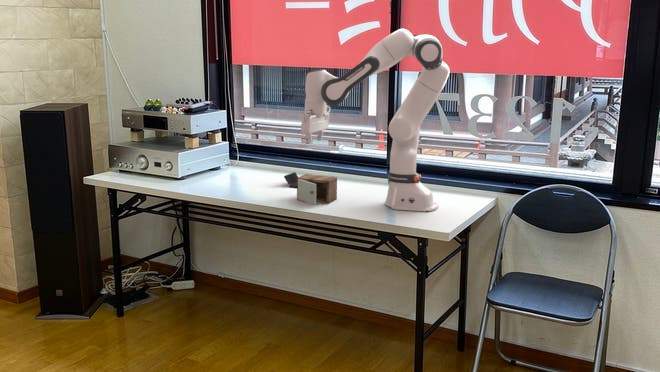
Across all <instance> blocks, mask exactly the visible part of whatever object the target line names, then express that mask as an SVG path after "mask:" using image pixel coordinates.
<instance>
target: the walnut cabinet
mask: <svg viewBox="0 0 660 372" xmlns="http://www.w3.org/2000/svg"><path fill="white" fill-rule="evenodd" d="M298 179H301V180H304V181H308V182H311V183H314V184H316V204H317V203H318V204H325V205H329V204H331V203H333V202H335V201H337V200H338V197H337V196H338V177H337V176H328V175H319V174H309V173H305V174H303V175H300V176H298V178H297V188H296V200H297V201H300V202H303V201H302V200H299V199H298Z"/></svg>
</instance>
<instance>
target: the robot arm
mask: <svg viewBox="0 0 660 372" xmlns="http://www.w3.org/2000/svg"><path fill="white" fill-rule="evenodd" d="M442 46H443V45H442V43H441V42H440V41H439V40H438V38H437V37H435V36H433V35H431V34H428V33H420V34H412V32H410V31H409V30H408V29H405V28H399V29H397V30H395V31H393V32H391V33H389V34H388V35H386V36H385V37H383V38H382V39H381V40H380V41H378V42H377V43H376V44H374V46H373V47H371V49H370V50H369V51H368V52H367V53H366V55H365V56H364V57H363V58H362V60H361V61H359V62H358V63H357V65H355V66H354V67H353V68H351V69H349V70H348V71H347V72H346V73H344V74H343V75H342V76H340V77H338V76H334V75H333V74H331V73H330V72H328V71H327V70H326V69H324V68H322V69H321V68H320V69H314V70H313V69H312V70H310V71H309V72H308V73H307V74H306V78H305V85H304V86H305V90H304V91H305V100H304V113H303V116H302V118H301V124H300V131H301V133H302V134H303V135H304V134H305V137H306V142H307V144H309V145H311V144H313V141H314V139H313V138H312V137H313V133H317V135H316V141H317V142H321V141H323V140H322V139H323V135H324V131H325V130H327V129H329V128H328V127H329V125H330V112H331V107H330V106H338V105H340V104H342V103H343V102H344V100H346V99H347V98H348V97H349V94H350V91H352V90H353V88H354V87H356V86H357V85H359V84H361V83H362V82H363V81H364V80H366V79H367V78H369V77H371V76H373V75H377V74H379V73H382V72H384V71H386V70H388V69H390V68H392V67H393V66H395V65H397V64H398V63H399V62H400V61H401V60H403V59H405V58H406V57H409V56H411V57H414V58H415V59H416V60H417V61H418V62H419V64H421V65H422V68H421V72H420V74H419V75H418V77H417V78H416V80H415V82H414V83H413V85H412V87H411V88H410V91H409V92H408V94H407V96H406V98H404V100H403V102H402V103H401V105H400V106H399V107H398V109H397V111H396V112H395V114H394V115H393V117H392V119H391V120H390V122H389V125H388V134H389V136H390V137H391V138H392V143H391V149H390V154H389V155H390V157H389V171H388V175H387V176H388V177H387V184H388V189H387V194H386V198H385V202H384V205H385V206H387V207H389V208H391V209H393V210H398V211H399V210H400V211H401V210H402V211H413V212H414V211H415V212H416V211H417V212H426V211H429V212H433V211H435V210H437V209H438V207H439V203H438V202H435V201H434V196H433V193H432V190H430V189H429V188H428V187H427V186H426V185H425V184H423V183H422V182H421V177H422V175H421V173H420V174H419V173H418V172H417V161H418V160H417V159H418V158H417V157H418V156H417V155H418V148H419V139H420V130H421V125H422V123H423V122H424V119H425V118H426V117H427V115H428V114H429V112H430V111H431V110H432V107H433V106H434V104H435V102H436V101H437V99H438V98H439V96H440V94H441V92H442V91H443V89H444V87H445V85H446V83H447V80H448V78H449V76H450V71H451V70H450V67H449V66H448V64H447V63H446V62H444V61H443V47H442ZM327 104H328V105H327ZM329 105H330V106H329Z"/></svg>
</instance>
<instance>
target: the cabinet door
mask: <svg viewBox="0 0 660 372" xmlns="http://www.w3.org/2000/svg"><path fill="white" fill-rule="evenodd" d="M298 199H299V200H302V201H301V202H305V203H307V204H311V205H314V206H315V205H317V203H316V184H314V183H311V182H308V181H304V180H301V179H298ZM299 200H298V201H299Z"/></svg>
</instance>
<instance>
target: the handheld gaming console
mask: <svg viewBox="0 0 660 372" xmlns="http://www.w3.org/2000/svg"><path fill="white" fill-rule="evenodd" d="M298 177H299V176H298V174H297V173H296V172H295V171H294V172H292V173H289V174H286V175H284V176H283V178H284V179H285V181H286V182H287V184H288V186H289V188H290V189H291V188H292V189H297V178H298Z"/></svg>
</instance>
